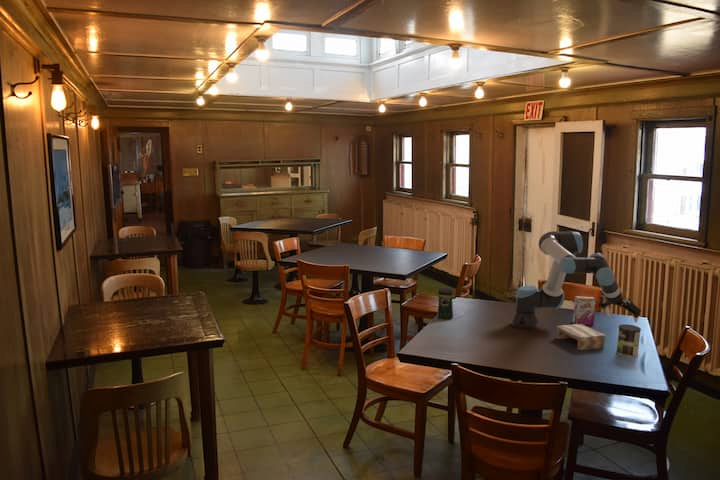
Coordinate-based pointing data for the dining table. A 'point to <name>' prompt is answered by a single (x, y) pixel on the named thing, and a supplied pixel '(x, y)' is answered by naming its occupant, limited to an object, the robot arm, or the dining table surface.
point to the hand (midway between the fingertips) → (622, 317)
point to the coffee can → (628, 340)
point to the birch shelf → (582, 336)
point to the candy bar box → (584, 310)
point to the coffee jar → (445, 303)
